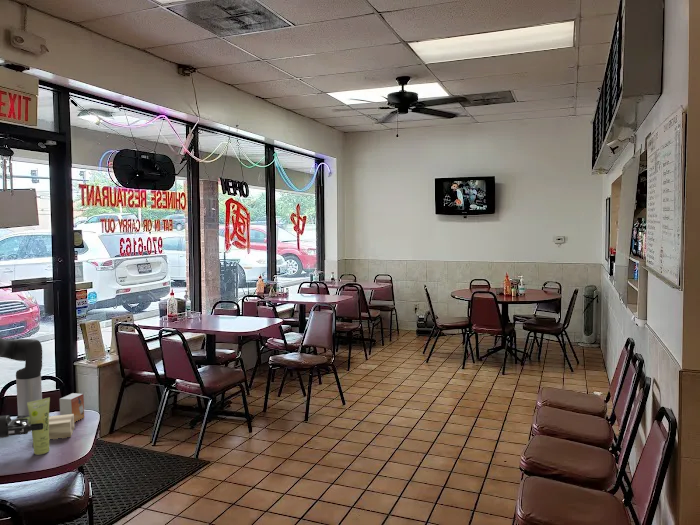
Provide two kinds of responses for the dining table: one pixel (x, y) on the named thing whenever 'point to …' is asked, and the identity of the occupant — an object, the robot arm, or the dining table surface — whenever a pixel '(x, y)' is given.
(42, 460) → the dining table surface
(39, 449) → the tube
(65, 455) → the dining table surface
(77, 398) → the small box
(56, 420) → the birch block
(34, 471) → the dining table surface
